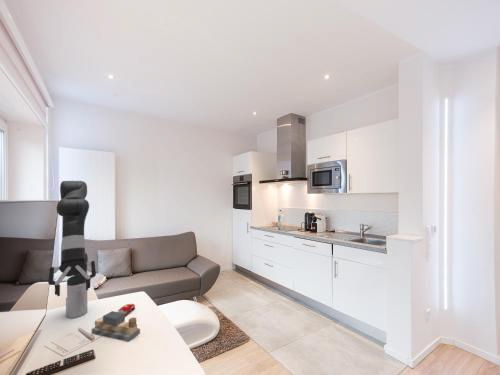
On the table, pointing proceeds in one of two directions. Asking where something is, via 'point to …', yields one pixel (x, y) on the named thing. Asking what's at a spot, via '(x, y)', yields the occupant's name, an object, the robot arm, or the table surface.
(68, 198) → the robot arm
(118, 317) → the grey rectangular box
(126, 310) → the race car
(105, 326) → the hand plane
